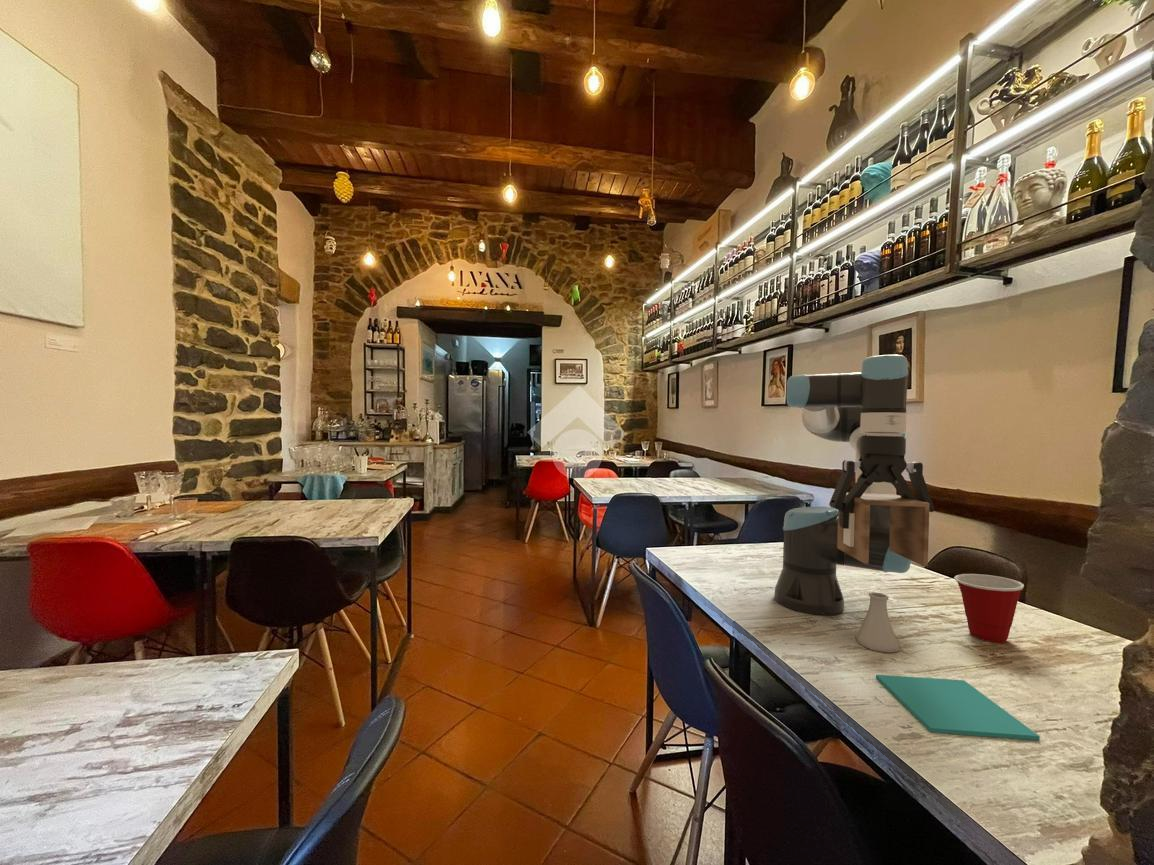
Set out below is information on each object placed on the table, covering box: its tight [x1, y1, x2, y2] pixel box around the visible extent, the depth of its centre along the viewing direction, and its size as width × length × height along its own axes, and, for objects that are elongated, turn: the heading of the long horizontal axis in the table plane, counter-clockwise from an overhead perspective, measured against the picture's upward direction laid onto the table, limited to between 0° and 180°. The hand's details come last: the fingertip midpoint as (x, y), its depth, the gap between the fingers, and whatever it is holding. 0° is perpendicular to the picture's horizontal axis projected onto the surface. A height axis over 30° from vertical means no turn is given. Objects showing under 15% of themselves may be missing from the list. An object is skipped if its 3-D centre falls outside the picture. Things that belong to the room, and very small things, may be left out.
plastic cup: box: [953, 573, 1025, 644], centre depth 95 cm, size 11×11×12 cm
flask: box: [855, 591, 901, 654], centre depth 91 cm, size 7×7×10 cm
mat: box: [875, 674, 1041, 741], centre depth 71 cm, size 14×14×1 cm
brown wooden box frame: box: [837, 492, 930, 567], centre depth 90 cm, size 11×11×12 cm
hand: (879, 546), depth 91 cm, fingers closed on brown wooden box frame, 11 cm apart
